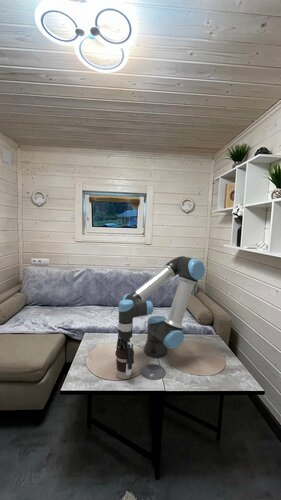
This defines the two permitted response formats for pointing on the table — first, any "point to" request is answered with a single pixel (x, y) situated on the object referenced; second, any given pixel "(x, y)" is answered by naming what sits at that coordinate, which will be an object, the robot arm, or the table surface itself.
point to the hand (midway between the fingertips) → (124, 368)
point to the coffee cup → (122, 363)
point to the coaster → (153, 371)
